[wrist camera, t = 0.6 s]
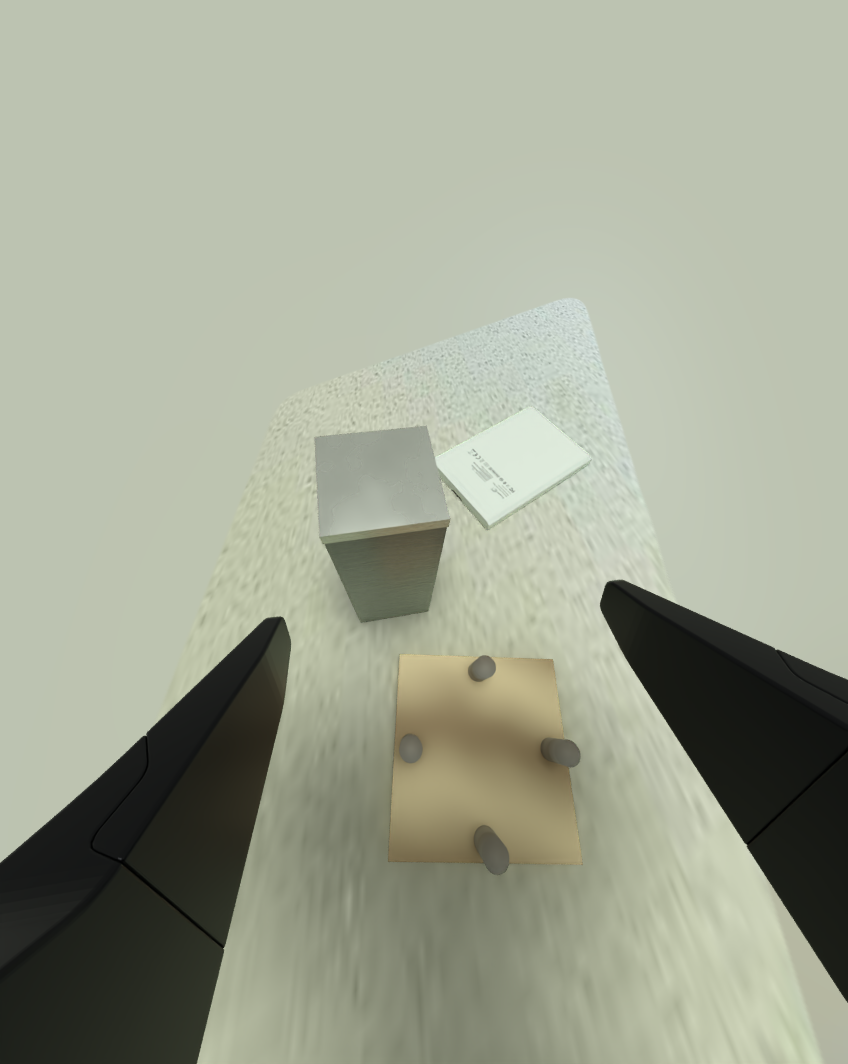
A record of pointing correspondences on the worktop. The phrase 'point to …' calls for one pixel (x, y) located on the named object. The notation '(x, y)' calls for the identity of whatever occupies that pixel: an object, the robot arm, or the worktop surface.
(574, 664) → the worktop surface
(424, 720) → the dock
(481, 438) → the external hard drive
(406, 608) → the tower
